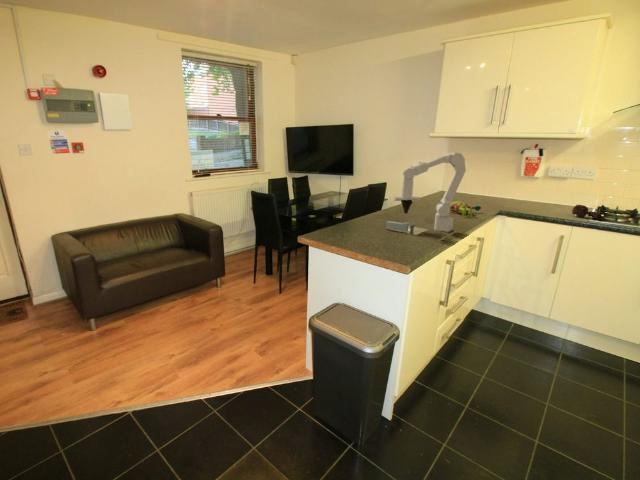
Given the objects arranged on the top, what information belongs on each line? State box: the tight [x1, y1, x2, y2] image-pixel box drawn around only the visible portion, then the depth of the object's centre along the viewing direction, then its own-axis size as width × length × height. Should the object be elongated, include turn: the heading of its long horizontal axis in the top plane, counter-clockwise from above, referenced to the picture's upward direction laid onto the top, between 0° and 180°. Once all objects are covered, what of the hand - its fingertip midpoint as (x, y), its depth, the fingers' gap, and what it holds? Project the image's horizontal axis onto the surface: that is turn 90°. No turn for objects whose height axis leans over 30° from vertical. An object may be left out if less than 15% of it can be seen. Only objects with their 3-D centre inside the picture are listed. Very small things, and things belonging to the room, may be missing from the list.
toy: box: [450, 200, 482, 218], centre depth 239 cm, size 24×28×8 cm
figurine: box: [571, 204, 607, 222], centre depth 223 cm, size 10×8×18 cm
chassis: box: [388, 225, 429, 236], centre depth 193 cm, size 18×15×5 cm
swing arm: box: [385, 220, 417, 231], centre depth 189 cm, size 16×4×4 cm, turn 58°
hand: (405, 213), depth 194 cm, fingers closed
